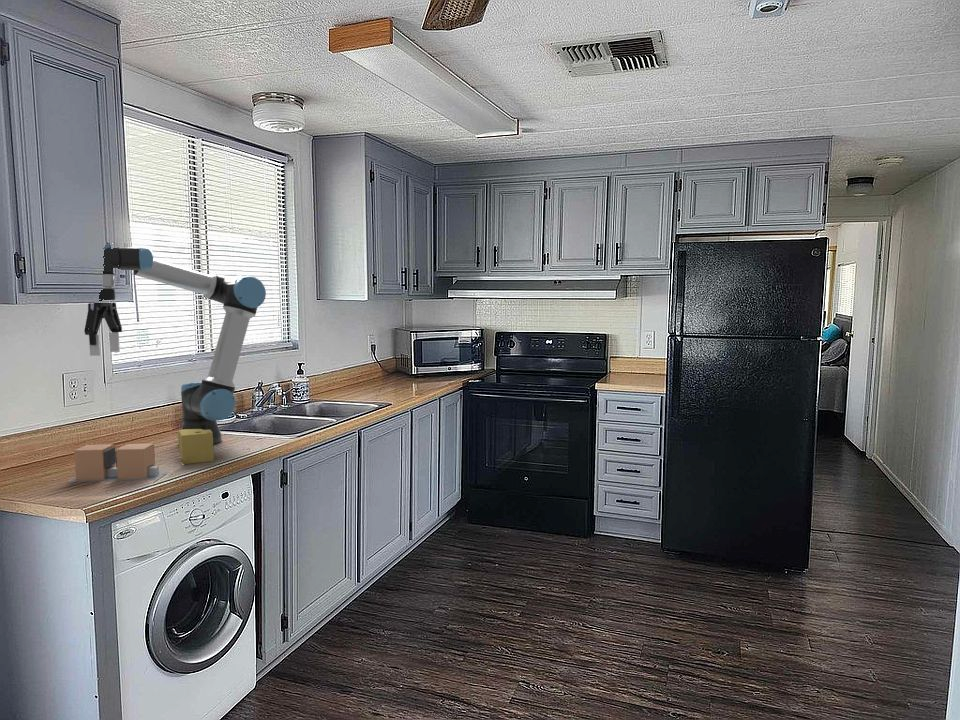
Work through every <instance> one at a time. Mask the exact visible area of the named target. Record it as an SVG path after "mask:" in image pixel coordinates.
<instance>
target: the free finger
mask: <svg viewBox="0 0 960 720" xmlns="http://www.w3.org/2000/svg"><path fill="white" fill-rule="evenodd" d="M155 457H156V456H155V443H127V444H124V445H123V446H120V447H118V448H115V458H116V463H115V467H116V468H117V474H118V479H146V478H147V477H148V473H147V467H149V466H156V461H155V460H156V458H155Z"/></svg>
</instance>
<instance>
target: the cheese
mask: <svg viewBox="0 0 960 720" xmlns="http://www.w3.org/2000/svg"><path fill="white" fill-rule="evenodd" d="M177 433H178V435H177V437H178V438H177V439H178V441H177V442H178V447H179V452H180V453H179V454H180V459H181V460H182V461H181V462H182V465H188V464H189V465H190V464H197V463H199V464H200V463H206V462H207V463H209V462H213V461H214V459H215V457H214V455H215V454H214V453H215V452H214V444H213V433H212V431H211V430H202V429H183V430H181V429H179V430H178V432H177Z"/></svg>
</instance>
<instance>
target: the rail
mask: <svg viewBox="0 0 960 720" xmlns="http://www.w3.org/2000/svg"><path fill="white" fill-rule="evenodd" d="M159 467H160V466H159V465H155V466H149V467H147V473H148V477H147V478H146V479H118V474H117V468H116V466H115V467H108V468H106V477H107V478H106V479H104V480H76V476H75V477H73V478H71V479H69V480H66V482H68V483H69V482H71V483H72V482H74V483H76V482H108V481H109V482H110V481H116V482H117V481H148V480H150V481H153V483H152V484H155V483H156V482H158V481H159V480H160V479H162V478H164V477H165V476H166V475H167V470H160V469H159ZM164 473H165V474H164ZM163 474H164V475H163ZM160 476H161V477H160ZM157 478H158V479H157ZM154 480H155V481H154Z"/></svg>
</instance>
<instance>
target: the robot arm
mask: <svg viewBox="0 0 960 720" xmlns="http://www.w3.org/2000/svg"><path fill="white" fill-rule="evenodd" d="M106 244H107V245H105V247H104V248H103V249H105V250H104V256H103V258H104V257H105V258H104V264H103V266H104V265H105V266H104V271H103V274H102V276H103V284H102V286H103V287H105V288H104V289H103V290H101V292H100V293H99V294H100V295H99V299H101V300H99V301H102V300H103V299H104V300H111V301H114V300H116V289H114V288H115V286H116V285H115V284H114V281H115V272H114V273H113V268H118V269H121V270H134V276H137V277H141V278H144V279H148V280H152V281H155V282H158V283H162V284H165V285H169V286H172V287H175V288H180V289H183V290H187V291H189V292H193V293H196V294H200V295H203V296H204V298H205V299H208V300H212V301H214V302H218V303H219V304H223V306H222V308H223V310H224V312H225V315H224V318H223V321H222V325H221V329H220V333H219V336H218V340H217V344H216V346H215V350H214V353H213V358H212V361H211V364H210V368H209V371H208V375H207V376H206V377H204V378H202V380H201V381H199V382H198V381H196V382H195V381H194V382H187V383H183V384H182V385H181V390H180V391H181V392H180V395H181V397H180V398H181V411H182V412H181V413H182V426H181V429H180V430H183V429H202V430H211V431H212V433H213V445H215V444H218V443H221V442H222V440H223V437H222V432H221V429H220V427H219V424H218V422H219V421H223V420H226V419H227V418H229V417H230V416H231V415H232V414H233V413H234V410H235V408H236V405H237V404H236V402H237V401H236V398H235V395H234V393H235V390H236V385H235V384H234V382H233V381H234V377H235V373H236V370H237V366H238V363H239V358H240V356H241V352H242V348H243V345H244V341H245V337H246V334H247V330H248V328H249V327H248V326H249V323H250V320H251V319H252V318H253V317H255V316H256V313H257V311H258V307H260V306H261V305H262V304H263V303H264V302H265V299H266V295H267V293H266V291H267V290H266V287H265V285H264V283H263V282H262V281H261V280H260V279H259V278H258V277H256V276H253V275H252V276H251V275H247V274H246V275H237V276H236V275H235V276H234V275H233V276H232V275H231V276H227V275H219V274H216V273H211V274H208V273H207V274H206V273H203V272H199V271H197V270H193V269H190V268H186V267H183V266H180V265H176V264H173V263H169V262H167V261H163V260H160V259H156V258H154V253H153V251H152V249H150V248H148V247H142V246H139V247H135V246H117V247H118V248H113V249H111V245H110V243H108V242H107V243H106ZM118 265H119V266H118ZM112 287H113V288H112ZM103 319H104V320H105V322H106V324H107V327H108V329H109V331H110V332H109V335H108V336H109V350H110V353H113V352H114V353H120V352H121V350H120V347H121V346H120V333H122V332H123V326H122V324H121V323H122V322H121V320H120V316H119V313H118V309H117V303H116V302H111V303H94V302H90V303H87V314H86V321H85V326H84V335H85V336H88V342H89V344H88V345H89V356H90V357H92V356H96V357H97V356H101V348H100V347H101V345H100V344H101V343H100V335H99V334H98V332H99V330H100V326H101V323H102V321H103Z"/></svg>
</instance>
